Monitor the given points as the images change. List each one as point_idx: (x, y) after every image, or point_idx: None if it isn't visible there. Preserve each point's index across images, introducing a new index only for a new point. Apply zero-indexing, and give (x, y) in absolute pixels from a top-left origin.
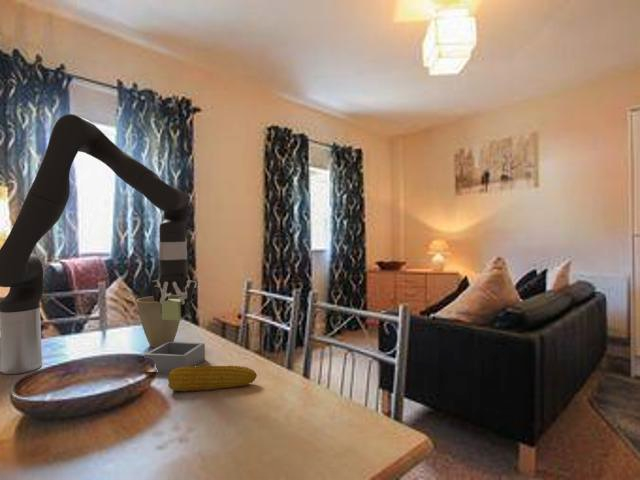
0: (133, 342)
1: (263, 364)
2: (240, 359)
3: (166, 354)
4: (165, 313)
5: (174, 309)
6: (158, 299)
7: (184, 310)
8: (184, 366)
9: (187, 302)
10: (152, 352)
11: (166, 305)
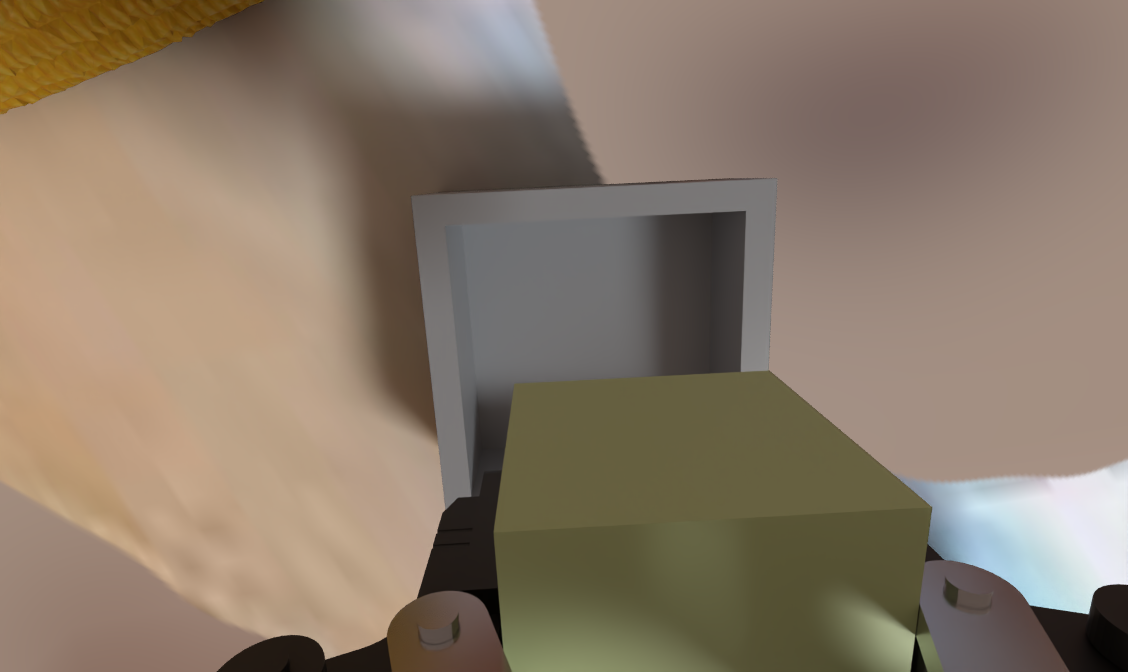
0: None
1: (34, 447)
2: (235, 502)
3: (589, 208)
4: (743, 409)
5: (581, 450)
6: (1102, 643)
7: (455, 538)
8: (431, 193)
9: (352, 654)
10: (742, 248)
11: (771, 475)
